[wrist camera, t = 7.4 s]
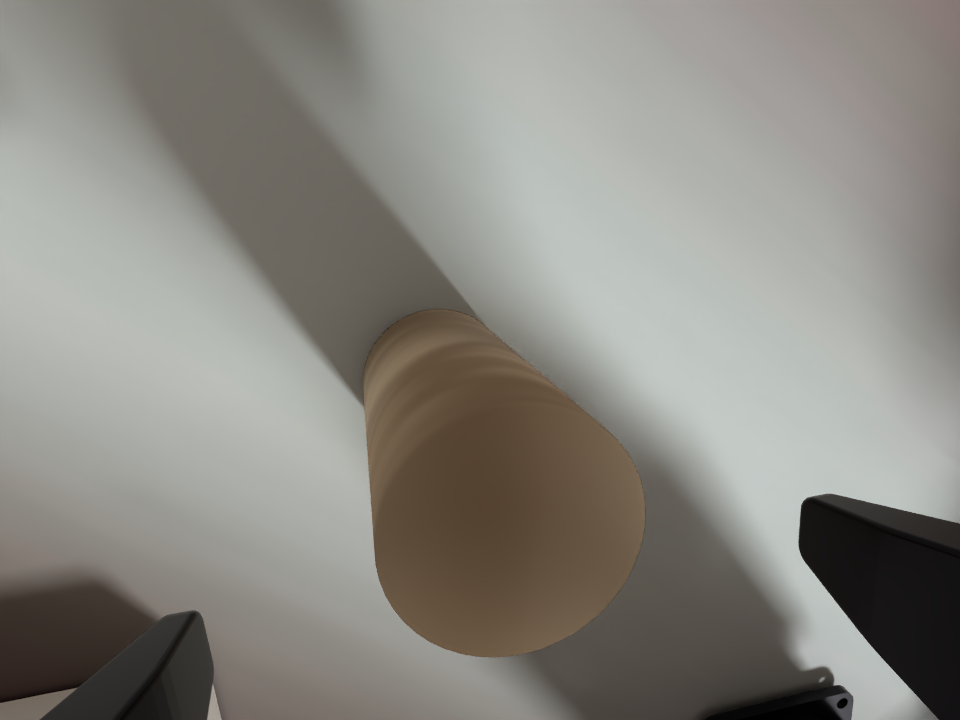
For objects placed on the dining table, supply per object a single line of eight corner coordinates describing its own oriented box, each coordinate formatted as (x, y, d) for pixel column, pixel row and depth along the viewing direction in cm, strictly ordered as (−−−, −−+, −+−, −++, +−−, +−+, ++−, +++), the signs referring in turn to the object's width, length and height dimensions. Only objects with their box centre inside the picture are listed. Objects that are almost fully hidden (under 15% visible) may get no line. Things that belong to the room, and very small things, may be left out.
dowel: (502, 300, 18) (642, 383, 9) (513, 437, 19) (647, 624, 10) (352, 319, 17) (354, 428, 8) (373, 461, 18) (394, 684, 10)
